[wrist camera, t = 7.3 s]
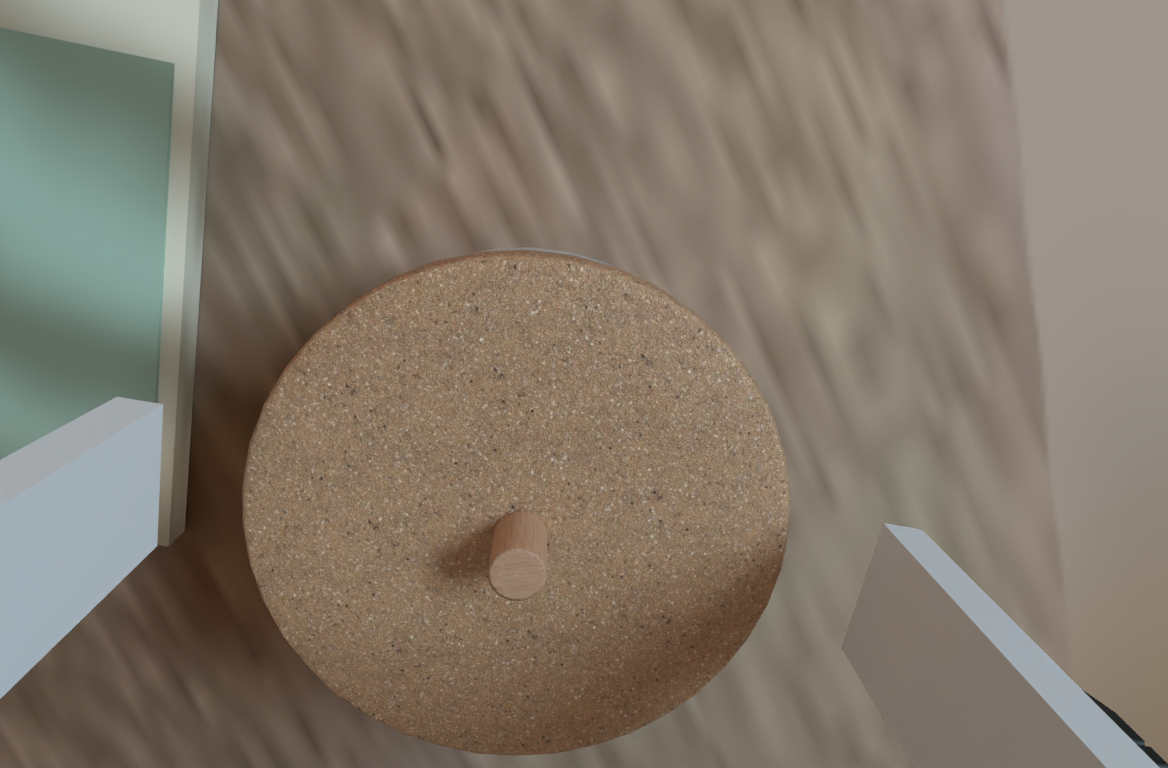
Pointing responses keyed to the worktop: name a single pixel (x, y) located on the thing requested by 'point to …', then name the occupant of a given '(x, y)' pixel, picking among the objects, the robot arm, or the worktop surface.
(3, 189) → the game board
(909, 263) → the worktop surface
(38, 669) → the worktop surface
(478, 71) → the worktop surface
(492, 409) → the lidded jar
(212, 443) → the worktop surface
